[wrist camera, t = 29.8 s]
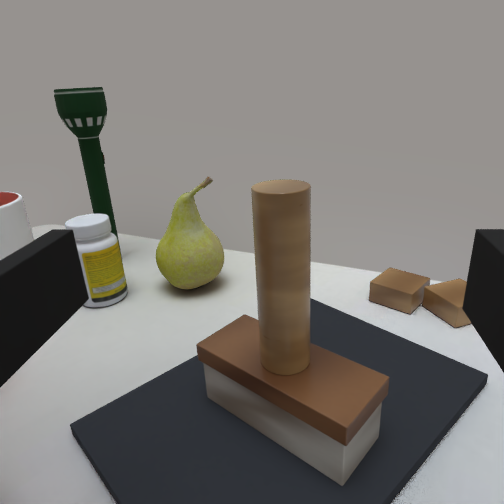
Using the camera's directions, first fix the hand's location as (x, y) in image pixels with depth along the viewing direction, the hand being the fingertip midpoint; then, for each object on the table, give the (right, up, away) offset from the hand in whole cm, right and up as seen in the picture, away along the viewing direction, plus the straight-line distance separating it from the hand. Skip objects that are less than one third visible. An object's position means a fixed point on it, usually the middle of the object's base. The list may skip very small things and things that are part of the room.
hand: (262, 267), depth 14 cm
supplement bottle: (-16, -4, +28) cm, 33 cm away
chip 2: (+18, -5, +22) cm, 29 cm away
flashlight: (-18, -1, +38) cm, 42 cm away
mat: (+2, -10, +13) cm, 16 cm away
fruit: (-6, -3, +30) cm, 31 cm away
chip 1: (+14, -4, +25) cm, 29 cm away
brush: (+2, -9, +11) cm, 15 cm away
